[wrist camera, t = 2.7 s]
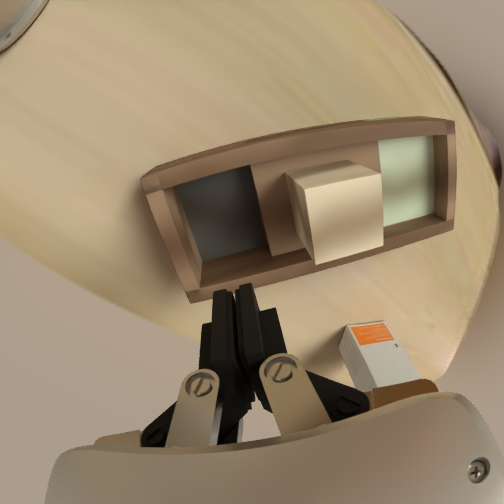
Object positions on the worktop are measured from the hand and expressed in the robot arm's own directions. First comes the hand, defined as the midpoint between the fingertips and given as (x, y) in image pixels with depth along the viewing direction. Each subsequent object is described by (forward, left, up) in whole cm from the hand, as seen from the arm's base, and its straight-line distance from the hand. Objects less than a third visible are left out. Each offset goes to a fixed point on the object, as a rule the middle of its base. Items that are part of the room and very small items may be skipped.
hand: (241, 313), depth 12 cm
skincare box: (+19, +12, -13) cm, 26 cm away
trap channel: (-1, +8, -13) cm, 15 cm away
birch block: (-1, +7, -10) cm, 12 cm away
